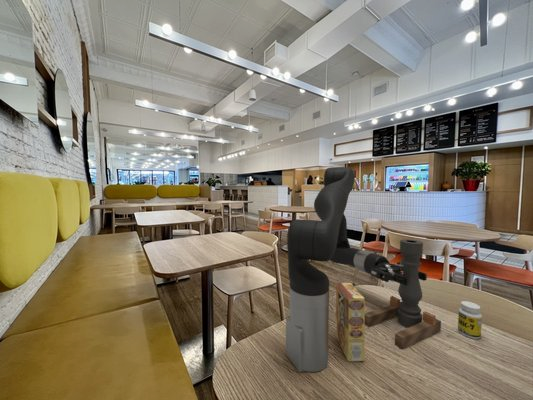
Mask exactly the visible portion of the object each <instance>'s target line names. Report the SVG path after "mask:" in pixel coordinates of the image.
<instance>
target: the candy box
mask: <svg viewBox="0 0 533 400" xmlns="http://www.w3.org/2000/svg"><path fill="white" fill-rule="evenodd" d="M335 289H336V291H335V294H336V297H335V298H336V299H335V301H336V302H335V303H336V304H335V306H336V308H335V310H336V312H335V313H336V314H335V315H336V318H335V321H336V322H335V323H336V324H335V325H336V337H335V338H336V340H337V341H338V343H339V345H340V348H341V350H342V352H343V353H344V356H345V357H346V360H347V361H348V362H364V361H365V332H366V331H365V330H366V329H365V326H366V325H365V313H366V311H365V306H366V305H365V304H366V303H365V302H366V298H365V297H364V296H363V295H362V294H361V293H360V291H358V290H357V289H356V287H355V286H354V285H353V284H352V283H351V282H337V283H336V288H335Z"/></svg>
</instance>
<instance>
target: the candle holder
mask: <svg viewBox="0 0 533 400" xmlns="http://www.w3.org/2000/svg"><path fill="white" fill-rule="evenodd" d="M423 248H424V242H423V241H420V240H416V239H410V238H409V239H407V238H406V239H400V241H399V251H400V253H401V256H402V258H401V259H400V263H402V264H403V271H402V273H403V276H404V277H406V278H408V279H409V285H407V286H405V285H402V284H400V283H399V286H398V288H397V289H398V290H397V291H398V295H399V296H400V302H401V303H400V304H399V308H398V316H397V322H398V324H399V325H401V326H402V327H405V328H406V329H407V328H409V327H411V326H414V325H416V324H418V323H421V322H423V313H421V312H422V309H421V307H420V306H419V303H420V302H421V300H422V298H423V290H422V287H421V283H420V282H421V281H420V279H419V278H418V271H419V268H420V267H421V266H422V262H421V261H420V258H421V257H422V255H423V253H424V252H423V251H424V249H423Z"/></svg>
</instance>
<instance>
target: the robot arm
mask: <svg viewBox="0 0 533 400" xmlns="http://www.w3.org/2000/svg"><path fill="white" fill-rule="evenodd" d="M355 178H356V177H355V171H354V170H353V168H351V167H347V166H341V167H340V166H339V167H338V166H337V167H326V169H325V171H324V175H323V187H322V188H321V189H320V191H318V193H317V195H316V197H315V199H314V201H313V208H314V211H315V213H316V215H317V217H318V218H319V219H320V220H314V219H300V218H299V219H294V220H292V221H291V222H290V223H289V227H288V230H287V235H286V236H287V240H286V242H287V244H286V245H287V246H286V247H287V265H288V268H287V269H288V270H287V271H288V272H287V273H288V281H289V315H288V316H286V317H285V354H286V357H288V359H289V360H290V362H291V363H292V364H293V366H294V367H295V368H296V370H297V372H299V373H302V372H309V373H315V372H320V371H323V370H324V369H325V368H326V367H327V366H328V364H329V329H330V328H329V327H330V326H329V325H330V322H329V319H330V318H329V317H330V314H329V313H330V279H329V276H328V275H327V274H326V273H325V272H324V271H321V270H320V269H318V268H316V267H315V266H313V264H311V263H310V262H309V261H316V262H329V261H330V262H331V263H335V264H338V265H339V264H340V265H347V266H350V267H353V268H356V269H357V270H360V271H361V272H363V273H366V274H368V275H371V276H372V277H374V278H377V279H378V280H381V281H382V282H385V283H389V282H392V283H395V282H396V283H398V284H399V285H400V284H402V285H405V286H407V285H409V279H408V278H406V277H404V276H403V264H402V263H401V261H400V262H399V261H397V262H396V263H395V262H389V260H388V258H387V257H386V256H384V255H381V254H377V253H374V252H370V251H367V250H362V249H359V248H356V247H351V245H350V242H349V239H348V238H349V237H348V233H347V232H348V231H347V230H348V229H347V228H348V227H347V226H348V225H347V224H348V222H347V218H346V216H345V211H346V208H347V205H348V200H349V195H350V194H351V191H352V189H353V187H354V186H355V185H354V184H355V181H356V180H355ZM401 272H402V273H401ZM427 275H428V274H427V273H426V272H423V271H421V270H420V271H419V270H418V278H419V280H421V281H427V277H428V276H427Z"/></svg>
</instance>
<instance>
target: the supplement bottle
mask: <svg viewBox="0 0 533 400" xmlns="http://www.w3.org/2000/svg"><path fill="white" fill-rule="evenodd" d="M457 316H458V320H457V321H458V322H457V330H458V332H459V333H460V334H461V335H462V336H465V337H467V338H470V339H473V340H474V339H475V340H479V339H481V337H482V321H483V315H482V313H481V306H480V305H479V304H478V303H477V304H476V303H473V302H471V301H468V300H467V301H465V300H463V301H461V302H460V308H458V315H457Z"/></svg>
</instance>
